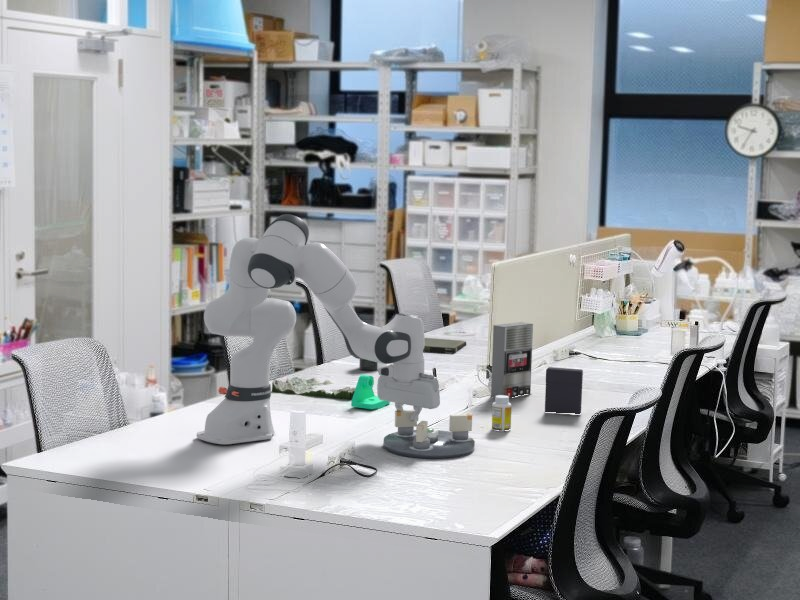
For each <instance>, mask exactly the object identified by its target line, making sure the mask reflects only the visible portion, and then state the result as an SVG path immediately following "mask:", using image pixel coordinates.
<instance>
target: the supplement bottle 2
mask: <svg viewBox="0 0 800 600" xmlns="http://www.w3.org/2000/svg"><path fill="white" fill-rule="evenodd" d="M491 411H492V412H491V413H492V416H491V430H492V429H494V430H499V431H505V430H509V429H511V428H512V403H510V399H509V396H505V395H497V396H495V398H494V401H493V403H492V409H491Z"/></svg>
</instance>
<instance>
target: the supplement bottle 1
mask: <svg viewBox="0 0 800 600" xmlns="http://www.w3.org/2000/svg"><path fill="white" fill-rule="evenodd" d="M377 363H378V362H374V361H370V360H363V359H359V365H358V367H359V368H358V369H359V370H360V371H362V372H375V371H376V372H377V371H378V370H377Z"/></svg>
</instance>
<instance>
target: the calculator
mask: <svg viewBox="0 0 800 600" xmlns="http://www.w3.org/2000/svg"><path fill="white" fill-rule="evenodd" d="M583 376H584V371H583V369H581V368H567V367H551V366H548V367H547V368H546V369H545V393H544V394H545V397H544V413H545V412H556V413H575V414H580V413H581V414H582V402H583V401H582V396H583V380H584V379H583V378H584V377H583Z"/></svg>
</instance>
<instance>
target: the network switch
mask: <svg viewBox="0 0 800 600" xmlns="http://www.w3.org/2000/svg"><path fill="white" fill-rule="evenodd" d="M424 339H425V342H424V349H423V353H426V354H427V353H431V354H432V353H433V354H434V353H435V354H447V355H449V354H450V355H455V354H456V353H458V352H459V351H461V350H462V349H463V348H465V347H466V346H467V342H466V340H458V339H445V338H437V337H436V338H433V337H424Z"/></svg>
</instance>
